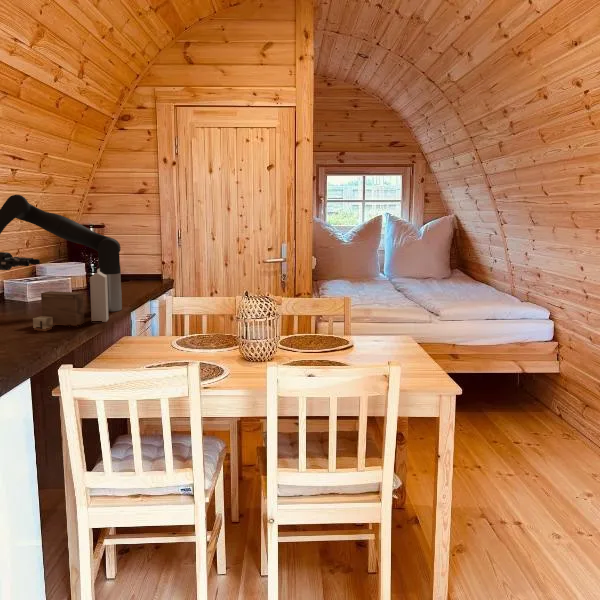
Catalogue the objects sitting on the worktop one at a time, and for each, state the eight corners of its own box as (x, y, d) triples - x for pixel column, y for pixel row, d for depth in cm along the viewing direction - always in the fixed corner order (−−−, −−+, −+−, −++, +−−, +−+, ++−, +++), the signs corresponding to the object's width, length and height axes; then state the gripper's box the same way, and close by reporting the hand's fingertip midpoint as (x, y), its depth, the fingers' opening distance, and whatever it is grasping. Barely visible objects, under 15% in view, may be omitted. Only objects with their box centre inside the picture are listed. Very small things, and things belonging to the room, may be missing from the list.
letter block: (41, 328, 233) (40, 316, 232) (53, 329, 232) (52, 316, 231) (33, 331, 228) (32, 318, 227) (44, 332, 227) (44, 319, 226)
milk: (108, 319, 254) (107, 268, 250) (106, 322, 248) (105, 269, 244) (93, 319, 253) (92, 267, 249) (91, 322, 247) (89, 269, 243)
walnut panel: (51, 322, 246) (49, 291, 244) (84, 324, 243) (83, 292, 241) (42, 324, 240) (40, 293, 238) (76, 327, 237) (74, 294, 235)
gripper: (-15, 253, 241) (22, 254, 238) (9, 250, 255) (44, 252, 252) (-14, 271, 242) (23, 273, 239) (10, 268, 256) (45, 269, 253)
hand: (33, 262), depth 245 cm, fingers open, 6 cm apart
